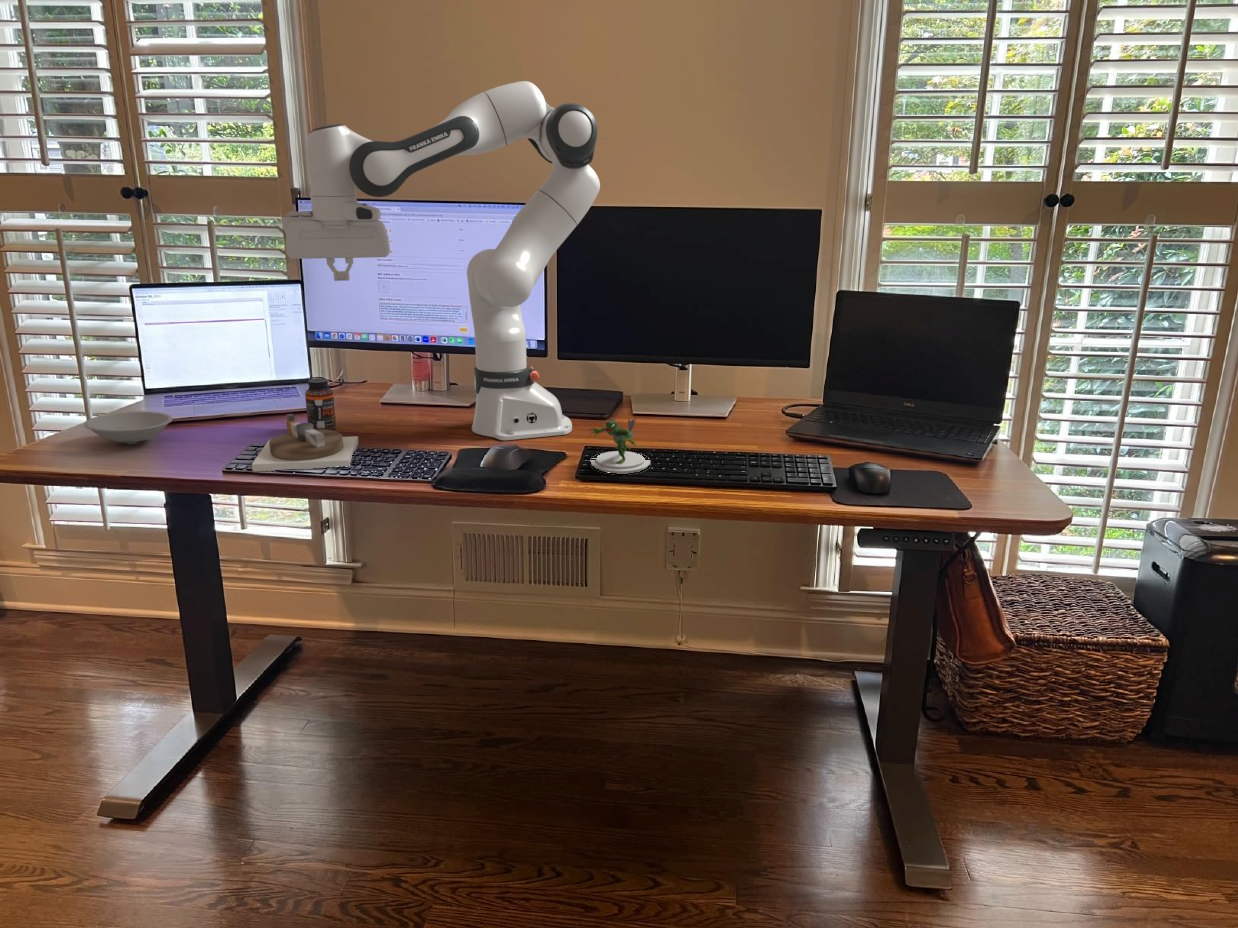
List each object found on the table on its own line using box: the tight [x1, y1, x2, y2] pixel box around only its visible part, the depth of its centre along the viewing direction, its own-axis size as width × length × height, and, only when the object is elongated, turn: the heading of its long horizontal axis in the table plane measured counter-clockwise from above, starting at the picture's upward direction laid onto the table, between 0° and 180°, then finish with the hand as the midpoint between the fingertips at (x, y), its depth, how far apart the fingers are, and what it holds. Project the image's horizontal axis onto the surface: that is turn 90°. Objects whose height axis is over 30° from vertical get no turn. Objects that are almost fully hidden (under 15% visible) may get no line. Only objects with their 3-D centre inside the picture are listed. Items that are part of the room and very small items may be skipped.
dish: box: [83, 410, 173, 445], centre depth 186 cm, size 18×14×5 cm
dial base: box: [251, 413, 359, 473], centre depth 178 cm, size 18×16×7 cm
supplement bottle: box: [304, 377, 337, 431], centre depth 195 cm, size 6×6×11 cm
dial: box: [269, 420, 344, 460], centre depth 178 cm, size 14×14×5 cm
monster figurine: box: [588, 418, 651, 475], centre depth 174 cm, size 12×12×10 cm
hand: (342, 280), depth 182 cm, fingers closed
